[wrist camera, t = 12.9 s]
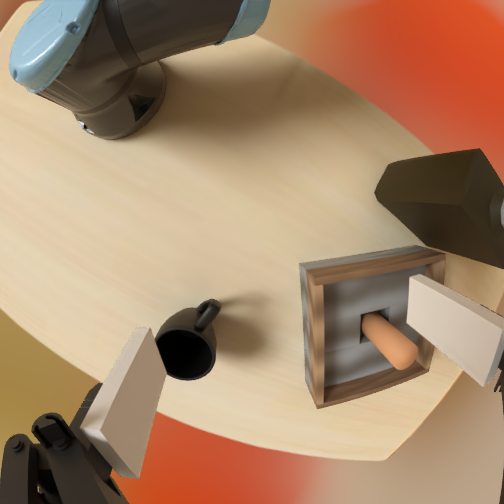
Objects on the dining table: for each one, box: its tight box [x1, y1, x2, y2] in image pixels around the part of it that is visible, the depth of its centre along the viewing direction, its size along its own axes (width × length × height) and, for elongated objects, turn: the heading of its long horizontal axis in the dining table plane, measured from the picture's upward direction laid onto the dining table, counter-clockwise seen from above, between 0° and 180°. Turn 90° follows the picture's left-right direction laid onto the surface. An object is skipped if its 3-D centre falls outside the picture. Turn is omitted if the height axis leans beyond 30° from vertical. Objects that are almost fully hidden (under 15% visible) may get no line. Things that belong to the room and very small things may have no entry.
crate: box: [299, 245, 445, 409], centre depth 39 cm, size 22×22×8 cm
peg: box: [360, 311, 418, 370], centre depth 36 cm, size 4×4×14 cm
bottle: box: [374, 148, 504, 269], centre depth 28 cm, size 8×16×25 cm, turn 58°
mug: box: [154, 299, 221, 381], centre depth 36 cm, size 8×12×10 cm
